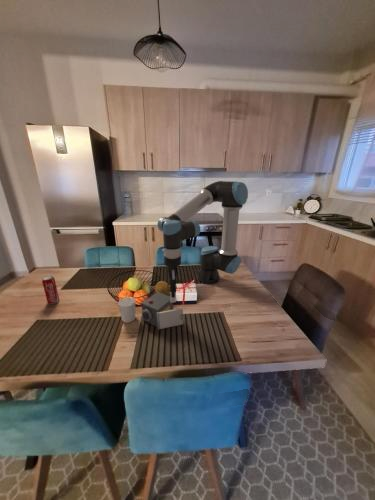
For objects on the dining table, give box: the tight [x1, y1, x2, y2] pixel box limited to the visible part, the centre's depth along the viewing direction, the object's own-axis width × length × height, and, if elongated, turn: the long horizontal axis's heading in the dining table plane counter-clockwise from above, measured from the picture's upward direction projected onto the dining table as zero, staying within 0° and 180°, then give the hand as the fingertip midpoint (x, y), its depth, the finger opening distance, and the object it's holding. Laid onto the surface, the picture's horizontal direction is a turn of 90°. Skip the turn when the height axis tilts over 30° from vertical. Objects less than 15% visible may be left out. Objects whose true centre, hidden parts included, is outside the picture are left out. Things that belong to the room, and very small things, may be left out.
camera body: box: [141, 292, 174, 328], centre depth 103 cm, size 14×10×11 cm
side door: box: [156, 307, 184, 330], centre depth 97 cm, size 12×2×9 cm, turn 107°
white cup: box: [118, 296, 137, 324], centre depth 103 cm, size 8×8×10 cm
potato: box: [154, 280, 170, 296], centre depth 122 cm, size 10×13×9 cm
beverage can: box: [41, 275, 60, 305], centre depth 115 cm, size 6×6×15 cm
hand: (173, 301), depth 99 cm, fingers closed
